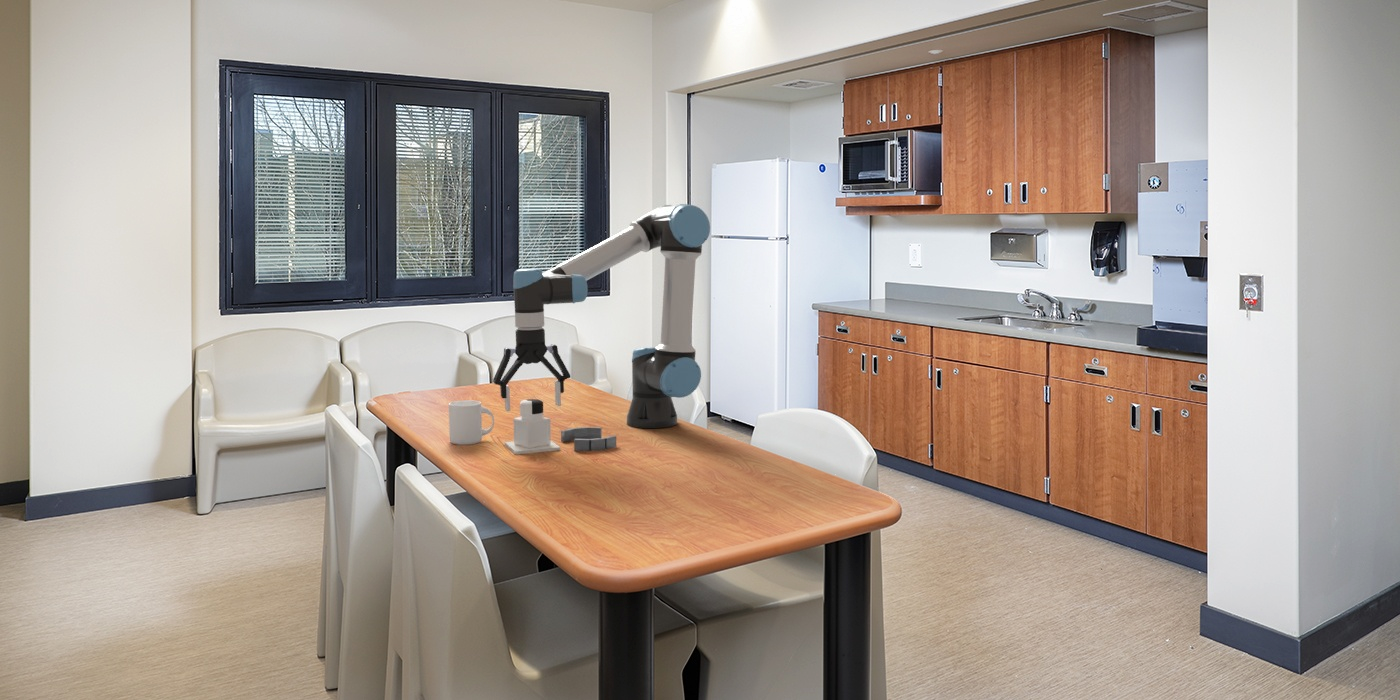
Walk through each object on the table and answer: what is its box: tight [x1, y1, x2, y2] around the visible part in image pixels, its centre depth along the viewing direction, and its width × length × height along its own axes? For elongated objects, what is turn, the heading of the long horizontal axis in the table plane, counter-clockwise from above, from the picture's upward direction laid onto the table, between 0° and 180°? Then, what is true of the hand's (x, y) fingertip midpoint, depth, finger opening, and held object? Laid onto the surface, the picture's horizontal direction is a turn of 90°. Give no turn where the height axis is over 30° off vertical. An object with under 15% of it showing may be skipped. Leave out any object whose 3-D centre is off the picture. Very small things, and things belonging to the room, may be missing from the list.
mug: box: [448, 399, 495, 446], centre depth 263 cm, size 9×12×11 cm
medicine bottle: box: [513, 398, 552, 448], centre depth 255 cm, size 7×7×12 cm
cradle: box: [560, 426, 617, 452], centre depth 260 cm, size 12×16×3 cm
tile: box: [503, 440, 561, 455], centre depth 256 cm, size 12×12×1 cm
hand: (533, 407), depth 255 cm, fingers open, 13 cm apart
